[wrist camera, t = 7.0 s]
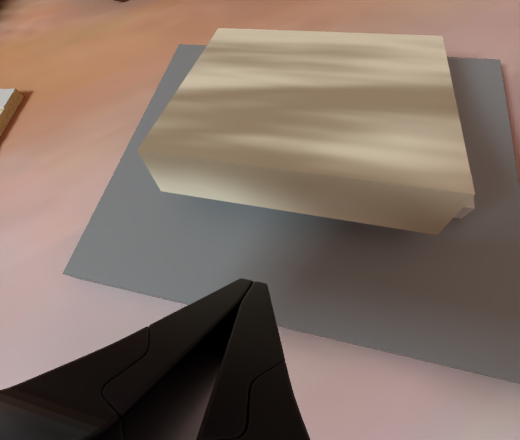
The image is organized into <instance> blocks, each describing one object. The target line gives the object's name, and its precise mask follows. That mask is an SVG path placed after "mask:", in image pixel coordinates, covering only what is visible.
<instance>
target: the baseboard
mask: <svg viewBox="0 0 520 440" xmlns="http://www.w3.org/2000/svg"><path fill="white" fill-rule="evenodd" d="M23 98H24V96H23V95H22V94H21V93H20V92H19V91H18V90H17V89H0V137H1V135H2V133H3V131H4V130H5V128H6V126H7V125H8V123H9V121H10V120H11V118H12V116H13V115H14V113H15V111H16V109H17V108H18V106H19V104H20V103H21V101H22V99H23Z"/></svg>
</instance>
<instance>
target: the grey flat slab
mask: <svg viewBox="0 0 520 440" xmlns="http://www.w3.org/2000/svg"><path fill="white" fill-rule="evenodd" d="M205 48H206V46H204V45H184V44H179V46H178V48H177V50H176V52H175V54H174V56H173V58H172V60H171V62H170V64H169V66H168V68H167V70H166V72H165V74H164V76H163V78H162V79H161V81H160V83H159V85H158V87H157V89H156V91H155V93H154V95H153V97H152V99H151V101H150V103H149V105H148V107H147V109H146V111H145V113H144V115H143V117H142V119H141V121H140V123H139V125H138V127H137V129H136V131H135V133H134V135H133V136H132V138H131V140H130V142H129V144H128V146H127V148H126V150H125V152H124V154H123V156H122V158H121V160H120V162H119V164H118V166H117V168H116V170H115V172H114V174H113V176H112V178H111V180H110V182H109V184H108V186H107V188H106V190H105V192H104V193H103V195H102V197H101V199H100V201H99V203H98V205H97V207H96V209H95V211H94V213H93V215H92V217H91V219H90V221H89V223H88V225H87V227H86V229H85V231H84V233H83V235H82V237H81V239H80V241H79V243H78V245H77V247H76V249H75V250H74V252H73V254H72V256H71V258H70V260H69V262H68V264H67V266H66V268H65V270H64V272H63V274H65V275H68V276H71V277H75V278H79V279H83V280H87V281H91V282H95V283H100V284H104V285H108V286H112V287H116V288H121V289H125V290H129V291H133V292H137V293H142V294H146V295H150V296H154V297H158V298H163V299H167V300H171V301H175V302H179V303H184V304H188V305H190V304H191V303H193V302H195V301H197V300H199V299H201V298H203V297H205V296H207V295H209V294H211V293H213V292H215V291H217V290H219V289H220V288H222V287H224V286H226V285H228V284H230V283H232V282H234V281H236V280H238V279H240V278H243V279H248V280H252V281H253V282H255V281H258V282H262V283H266V284H267V285H268V289H269V293H270V297H271V302H272V306H273V310H274V315H275V319H276V323H277V326H280V327H284V328H289V329H293V330H297V331H301V332H305V333H310V334H314V335H318V336H322V337H326V338H331V339H335V340H339V341H343V342H347V343H352V344H356V345H360V346H364V347H368V348H373V349H377V350H381V351H385V352H389V353H394V354H398V355H402V356H406V357H410V358H415V359H419V360H423V361H427V362H431V363H436V364H440V365H444V366H448V367H452V368H457V369H461V370H465V371H469V372H473V373H478V374H482V375H486V376H490V377H494V378H499V379H503V380H507V381H511V382H515V383H520V186H519V179H518V173H517V166H516V160H515V153H514V147H513V140H512V134H511V127H510V121H509V115H508V108H507V102H506V95H505V89H504V82H503V76H502V69H501V63H500V60H495V59H475V58H454V57H447V60H448V65H449V70H450V75H451V80H452V85H453V90H454V94H455V99H456V104H457V109H458V114H459V119H460V123H461V128H462V133H463V138H464V143H465V148H466V153H467V157H468V162H469V167H470V172H471V177H472V182H473V186H474V191H475V195H474V196H473V197H472V198H471V199H470V200H469V202H468V203H467V204H466V205H465V206H464V207H463V208H462V209H461V210H460V211H459V212H458V213H457V214H456V215H455V217H454V218H453V219H452V220H451V221H450V222H449V223H448V224H447V225H446V226H445V227H444V228H443V229H442V230H441V232H440V233H439V234H438V235H434V234H428V233H421V232H415V231H409V230H402V229H396V228H390V227H383V226H377V225H371V224H364V223H358V222H352V221H346V220H339V219H333V218H327V217H320V216H314V215H308V214H301V213H295V212H289V211H282V210H276V209H270V208H263V207H257V206H251V205H245V204H238V203H232V202H226V201H219V200H213V199H207V198H200V197H194V196H188V195H181V194H175V193H169V192H162V191H161V190H160V189H159V187H158V185H157V184H156V182H155V180H154V178H153V177H152V175H151V173H150V172H149V170H148V168H147V167H146V165H145V163H144V161H143V160H142V158H141V156H140V155H139V153H138V151H137V150H138V148H139V147H140V145H141V144H142V142H143V141H144V139H145V138H146V136H147V135H148V133H149V132H150V130H151V129H152V127H153V126H154V124H155V123H156V121H157V120H158V118H159V117H160V115H161V114H162V112H163V111H164V109H165V108H166V106H167V105H168V103H169V102H170V100H171V99H172V97H173V96H174V94H175V93H176V91H177V90H178V88H179V87H180V85H181V84H182V82H183V81H184V79H185V78H186V76H187V75H188V73H189V72H190V70H191V69H192V67H193V66H194V64H195V63H196V61H197V60H198V58H199V57H200V55H201V54H202V52H203V51H204V49H205Z"/></svg>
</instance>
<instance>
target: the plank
mask: <svg viewBox="0 0 520 440" xmlns="http://www.w3.org/2000/svg"><path fill="white" fill-rule="evenodd" d="M137 151H138V153H139V155H140V156H141V158H142V160H143V161H144V163H145V165H146V167H147V168H148V170H149V172H150V173H151V175H152V177H153V178H154V180H155V182H156V184H157V185H158V187H159V189H160V190H161V191H162V192H169V193H175V194H181V195H188V196H194V197H200V198H207V199H213V200H219V201H226V202H232V203H238V204H245V205H251V206H257V207H263V208H270V209H276V210H282V211H289V212H295V213H301V214H308V215H314V216H320V217H327V218H333V219H339V220H346V221H352V222H358V223H364V224H371V225H377V226H383V227H390V228H396V229H402V230H409V231H415V232H421V233H428V234H434V235H438V234H439V233H440V232H441V230H442V229H443V228H444V227H445V226H446V225H447V224H448V223H449V222H450V221H451V220H452V219H453V218H454V217H455V215H456V214H457V213H458V212H459V211H460V210H461V209H462V208H463V207H464V206H465V205H466V204H467V203H468V202H469V200H470V199H471V198H472V197H473V196H474V195H475V191H474V186H473V182H472V177H471V172H470V167H469V162H468V157H467V153H466V148H465V143H464V138H463V133H462V128H461V123H460V119H459V114H458V109H457V104H456V99H455V94H454V90H453V85H452V80H451V75H450V70H449V65H448V60H447V56H446V51H445V46H444V41H443V36H431V35H402V34H374V33H345V32H317V31H288V30H260V29H232V28H218V30H217V31H216V33H215V34H214V36H213V37H212V39H211V40H210V42H209V43H208V45H207V46H206V48H205V49H204V51H203V52H202V54H201V55H200V57H199V58H198V60H197V61H196V63H195V64H194V66H193V67H192V69H191V70H190V72H189V73H188V75H187V76H186V78H185V79H184V81H183V82H182V84H181V85H180V87H179V88H178V90H177V91H176V93H175V94H174V96H173V97H172V99H171V100H170V102H169V103H168V105H167V106H166V108H165V109H164V111H163V112H162V114H161V115H160V117H159V118H158V120H157V121H156V123H155V124H154V126H153V127H152V129H151V130H150V132H149V133H148V135H147V136H146V138H145V139H144V141H143V142H142V144H141V145H140V147H139V148H138V150H137Z"/></svg>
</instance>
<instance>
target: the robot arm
mask: <svg viewBox="0 0 520 440" xmlns="http://www.w3.org/2000/svg"><path fill="white" fill-rule="evenodd" d="M0 440H310V438H309V435H308V433H307V430H306V427H305V425H304V422H303V420H302V417H301V414H300V411H299V408H298V405H297V402H296V399H295V397H294V393H293V390H292V386H291V382H290V379H289V375H288V370H287V366H286V363H285V358H284V354H283V349H282V345H281V341H280V336H279V332H278V328H277V323H276V319H275V315H274V310H273V306H272V302H271V297H270V293H269V289H268V285H267V284H266V283H262V282H258V281H255V282H253V281H252V280H248V279H243V278H240V279H238V280H236V281H234V282H232V283H230V284H228V285H226V286H224V287H222V288H220V289H219V290H217V291H215V292H213V293H211V294H209V295H207V296H205V297H203V298H201V299H199V300H197V301H195V302H193V303H191V304H190V305H188V306H186V307H184V308H182V309H180V310H178V311H176V312H174V313H172V314H170V315H168V316H166V317H164V318H163V319H161V320H159V321H157V322H155V323H153V324H151V325H150V326H149V327H145V328H143V329H141V330H139V331H137V332H135V333H133V334H131V335H129V336H127V337H125V338H123V339H121V340H119V341H117V342H115V343H113V344H111V345H108V346H106V347H104V348H102V349H99V350H97V351H95V352H93V353H90V354H88V355H86V356H84V357H81V358H79V359H77V360H74V361H72V362H69V363H67V364H65V365H62V366H60V367H58V368H55V369H53V370H51V371H48V372H46V373H44V374H41V375H39V376H37V377H34V378H32V379H29V380H27V381H25V382H22V383H20V384H17V385H15V386H12V387H10V388H6V389H3V390H0Z"/></svg>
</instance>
